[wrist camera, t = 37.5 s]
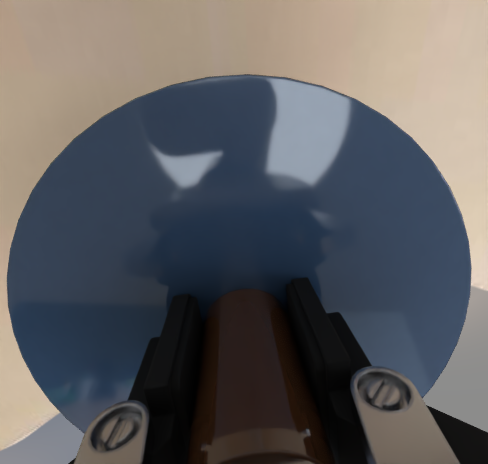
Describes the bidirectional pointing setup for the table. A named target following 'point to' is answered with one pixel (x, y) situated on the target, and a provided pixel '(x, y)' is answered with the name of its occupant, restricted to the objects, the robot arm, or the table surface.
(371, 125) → the pot lid
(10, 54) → the table surface
